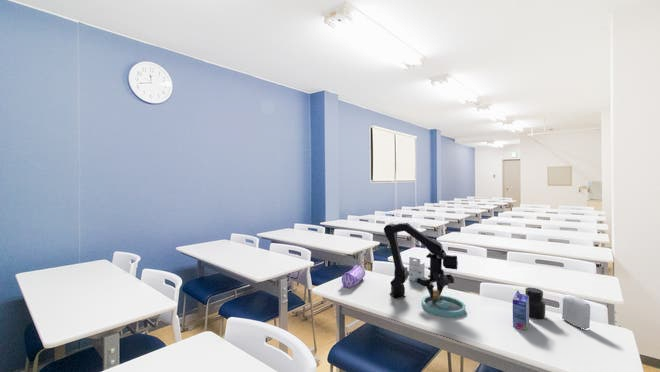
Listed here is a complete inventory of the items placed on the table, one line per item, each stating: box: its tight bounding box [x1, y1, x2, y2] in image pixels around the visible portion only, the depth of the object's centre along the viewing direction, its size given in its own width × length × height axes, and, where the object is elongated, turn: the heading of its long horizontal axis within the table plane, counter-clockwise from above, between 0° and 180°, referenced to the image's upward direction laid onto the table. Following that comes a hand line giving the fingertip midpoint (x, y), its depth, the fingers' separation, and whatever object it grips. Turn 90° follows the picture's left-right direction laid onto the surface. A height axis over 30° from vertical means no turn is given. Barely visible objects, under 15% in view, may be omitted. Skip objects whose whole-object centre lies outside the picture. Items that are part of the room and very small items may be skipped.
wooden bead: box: [431, 288, 440, 301], centre depth 154 cm, size 4×4×4 cm
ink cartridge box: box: [512, 289, 530, 331], centre depth 132 cm, size 10×6×14 cm, turn 141°
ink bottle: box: [524, 287, 546, 320], centre depth 141 cm, size 10×9×12 cm
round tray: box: [421, 294, 466, 318], centre depth 148 cm, size 20×20×2 cm
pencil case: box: [341, 263, 366, 289], centre depth 183 cm, size 22×9×10 cm, turn 158°
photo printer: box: [561, 294, 591, 330], centre depth 132 cm, size 10×4×12 cm, turn 11°
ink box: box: [408, 256, 425, 283], centre depth 187 cm, size 8×5×15 cm, turn 39°
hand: (435, 296), depth 154 cm, fingers open, 4 cm apart
